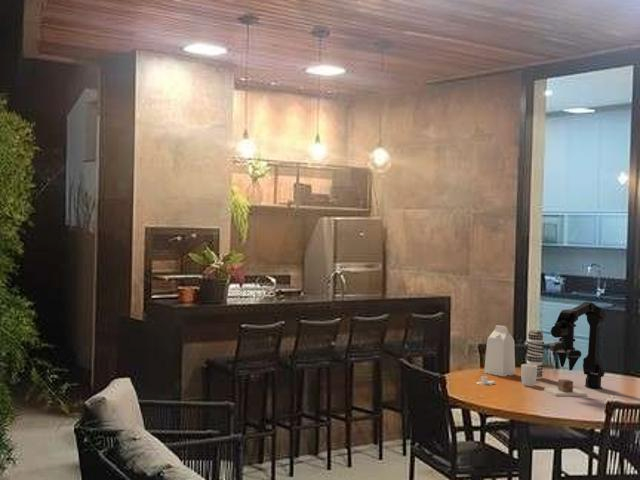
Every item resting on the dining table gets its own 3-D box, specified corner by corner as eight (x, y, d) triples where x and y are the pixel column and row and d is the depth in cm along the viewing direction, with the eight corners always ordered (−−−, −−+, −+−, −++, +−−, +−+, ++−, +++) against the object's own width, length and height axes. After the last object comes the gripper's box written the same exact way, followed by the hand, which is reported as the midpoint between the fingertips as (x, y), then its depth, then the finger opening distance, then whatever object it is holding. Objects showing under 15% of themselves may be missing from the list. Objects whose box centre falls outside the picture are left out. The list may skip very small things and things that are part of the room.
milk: (515, 374, 428) (516, 326, 428) (503, 376, 420) (504, 327, 420) (496, 370, 437) (497, 324, 436) (484, 373, 429) (485, 325, 428)
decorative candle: (540, 379, 414) (542, 332, 413) (523, 377, 418) (524, 330, 418) (545, 377, 421) (546, 330, 421) (528, 375, 426) (529, 329, 426)
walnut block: (567, 389, 383) (568, 379, 383) (572, 391, 378) (573, 381, 378) (558, 389, 382) (558, 379, 382) (562, 391, 377) (563, 381, 377)
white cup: (537, 387, 394) (537, 367, 393) (520, 385, 395) (521, 366, 395) (536, 384, 401) (536, 364, 401) (520, 383, 403) (520, 363, 403)
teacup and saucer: (495, 384, 400) (495, 376, 400) (492, 386, 392) (492, 378, 392) (478, 382, 403) (478, 374, 403) (474, 384, 396) (475, 376, 396)
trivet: (575, 390, 387) (575, 388, 387) (586, 395, 375) (587, 393, 375) (544, 390, 385) (544, 388, 385) (555, 395, 373) (555, 393, 373)
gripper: (543, 333, 388) (542, 365, 389) (559, 338, 370) (558, 372, 370) (565, 333, 390) (563, 365, 390) (582, 339, 371) (581, 372, 371)
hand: (566, 368), depth 380 cm, fingers open, 9 cm apart
